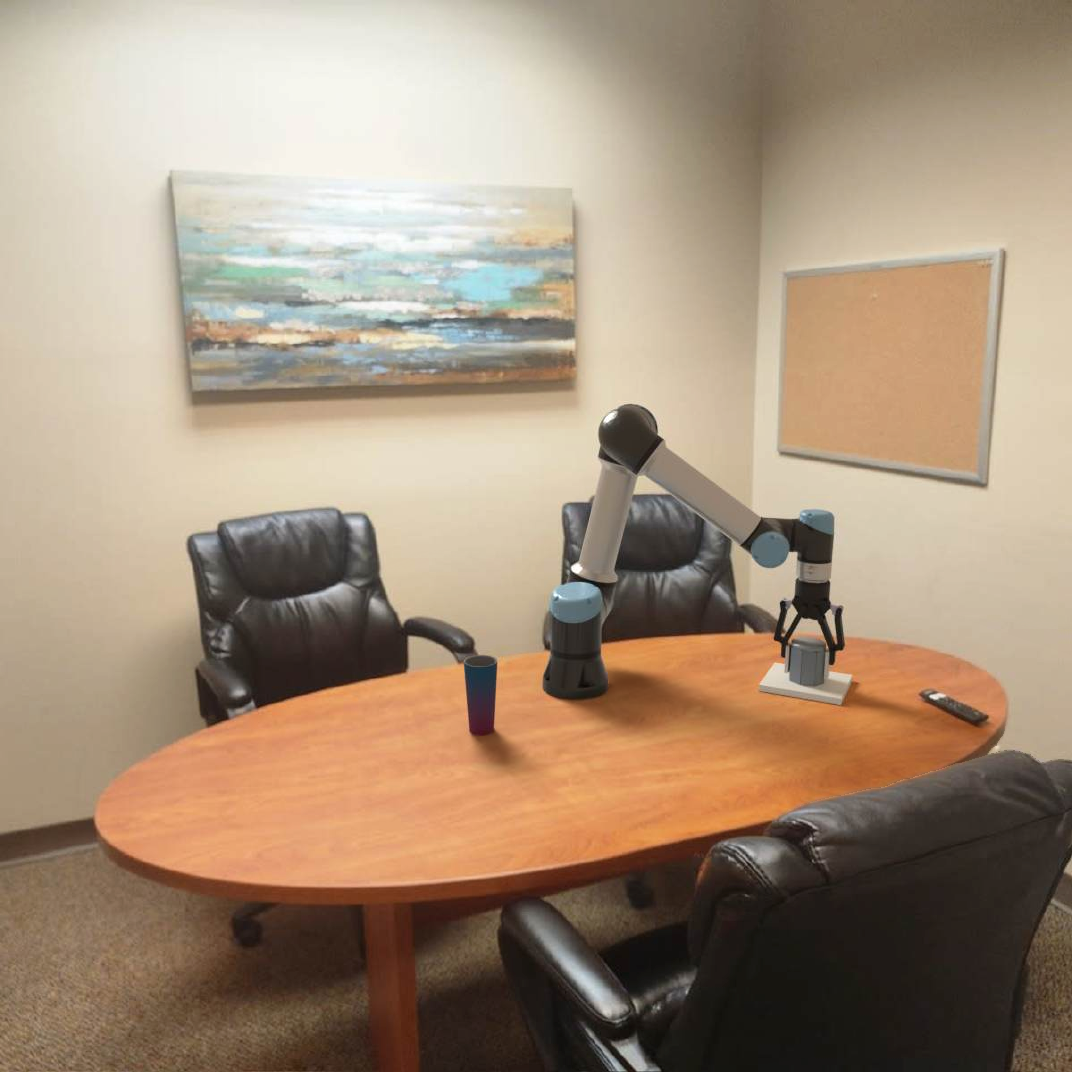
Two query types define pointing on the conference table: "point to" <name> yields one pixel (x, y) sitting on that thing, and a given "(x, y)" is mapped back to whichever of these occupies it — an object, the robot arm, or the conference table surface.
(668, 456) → the robot arm
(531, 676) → the conference table surface
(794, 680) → the cap
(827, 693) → the stud board
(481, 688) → the cup
